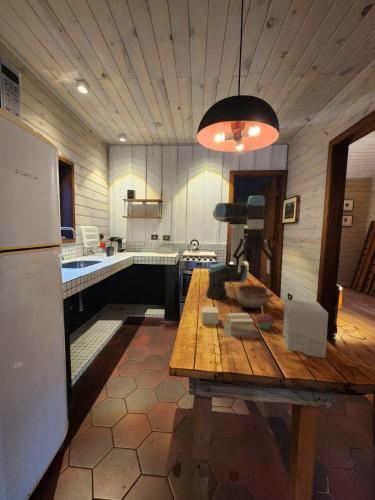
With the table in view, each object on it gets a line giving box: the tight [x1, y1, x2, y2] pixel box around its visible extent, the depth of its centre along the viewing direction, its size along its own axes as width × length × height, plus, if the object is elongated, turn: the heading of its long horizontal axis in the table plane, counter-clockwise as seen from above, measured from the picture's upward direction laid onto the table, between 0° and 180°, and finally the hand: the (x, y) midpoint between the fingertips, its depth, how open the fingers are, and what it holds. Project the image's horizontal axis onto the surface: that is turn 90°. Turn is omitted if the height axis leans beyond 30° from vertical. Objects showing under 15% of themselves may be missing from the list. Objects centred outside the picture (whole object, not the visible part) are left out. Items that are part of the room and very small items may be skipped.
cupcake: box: [255, 306, 275, 330], centre depth 104 cm, size 9×8×12 cm
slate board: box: [222, 322, 260, 338], centre depth 101 cm, size 14×14×1 cm
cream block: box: [200, 306, 220, 325], centre depth 111 cm, size 8×8×7 cm
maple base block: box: [226, 312, 255, 335], centre depth 101 cm, size 10×10×6 cm
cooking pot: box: [231, 284, 274, 311], centre depth 133 cm, size 25×19×12 cm
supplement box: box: [282, 299, 329, 359], centre depth 88 cm, size 13×13×18 cm
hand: (253, 272), depth 105 cm, fingers open, 13 cm apart
